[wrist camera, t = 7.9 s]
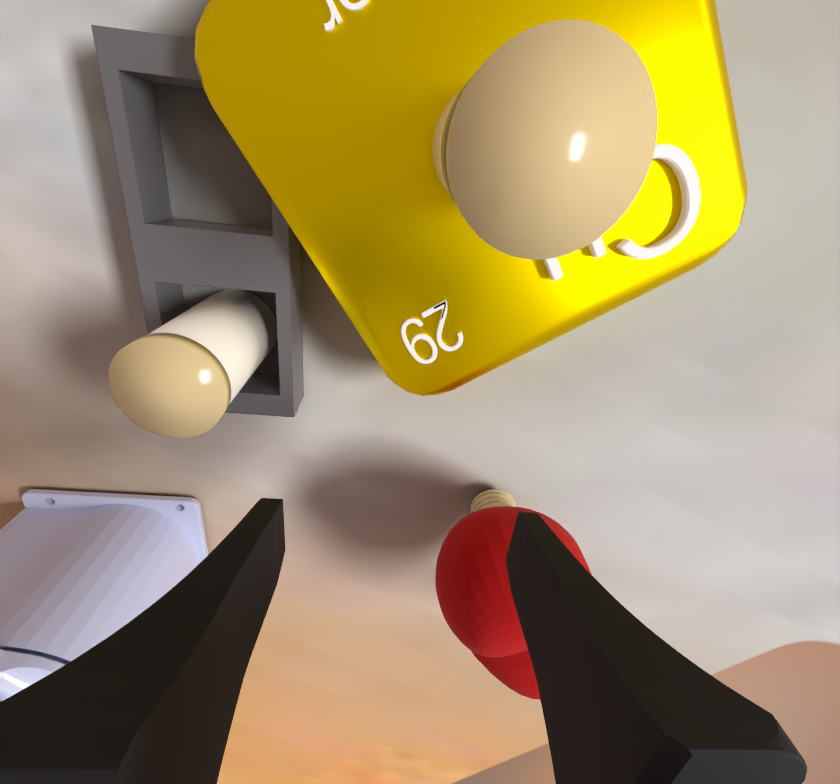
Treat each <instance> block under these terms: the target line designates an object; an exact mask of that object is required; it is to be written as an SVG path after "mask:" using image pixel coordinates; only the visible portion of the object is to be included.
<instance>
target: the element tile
mask: <svg viewBox="0 0 840 784" xmlns="http://www.w3.org/2000/svg"><path fill="white" fill-rule="evenodd" d="M573 19H575V20H582V21H589V22H592V23H595V24H598V25H601V26H604V27H606V28H607V29H609V30H611V31H613V32H615V33H616V34H618V35H619V36H620V37H621V38H623V39H624V40H625V41H626V42H627V43H628V44H629V45H630V46H631V47H632V48H633V49H634V50H635V52H636V53H637V54H638V55H639V57H640V59H641V60H642V62H643V64H644V65H645V67H646V69H647V71H648V74H649V76H650V79H651V81H652V85H653V88H654V92H655V96H656V103H657V111H658V130H657V139H656V146H655V150H654V155H653V159H652V162H651V165H650V168H649V171H648V174H647V176H646V178H645V181H644V183H643V185H642V187H641V189H640V191H639V193H638V194H637V196H636V198H635V199H634V201H633V203H632V204H631V205H630V207H629V208H628V209H627V211H626V212H625V214H624V215H623V216H622V217H621V218H620V219H619V220H618V221H617V222H616V224H615V225H614V226H612V227H611V228H610V229H609V230H608V231H607V232H606V233H605V234H603V235H602V236H601V237H599V238H598V239H597V240H595V241H594V242H592V243H590V244H589V245H587V246H585V247H583V248H582V249H579V250H577V251H575V252H572V253H570V254H567V255H564V256H560V257H556V258H550V259H538V260H532V259H523V258H518V257H514V256H510V255H508V254H505V253H503V252H500V251H498V250H497V249H495V248H493V247H492V246H490V245H488V244H487V243H486V242H485V241H483V240H482V239H481V238H480V237H479V236H478V235H477V234H476V233H475V232H474V231H473V230H472V229H471V227H470V226H469V224H468V223H467V222H466V220H465V219H464V217H463V216H462V215H461V213H460V211H459V209H458V208H457V206H456V205H455V203H454V202H453V200H452V198H451V196H450V195H449V194H448V192H447V191H446V190H445V188H444V187H443V185H442V184H441V182H440V180H439V178H438V176H437V173H436V170H435V167H434V163H433V155H432V144H433V136H434V131H435V127H436V124H437V121H438V119H439V117H440V115H441V113H442V111H443V109H444V108H445V106H446V105H447V103H448V102H449V101H450V100H451V99H452V97H453V96H455V95H456V94H457V93H458V92H459V91H460V90H461V89H462V87H463V86H464V85H465V84H466V83H467V81H468V80H469V79H470V78H471V77H472V76H473V75H474V74H475V72H476V71H477V70H478V69H479V68H480V66H481V65H482V64H483V63H484V62H485V61H486V60H487V59H488V58H489V57H490V56H491V55H492V54H493V53H494V52H495V51H496V50H497V49H498V48H499V47H500V46H502V45H503V44H504V43H506V42H507V41H508V40H510V39H511V38H513V37H514V36H516V35H518V34H519V33H521V32H523V31H525V30H527V29H529V28H531V27H534V26H537V25H540V24H542V23H546V22H551V21H556V20H573ZM194 57H195V61H196V64H197V68H198V72H199V75H200V79H201V83H202V86H203V88H204V90H205V92H206V95H207V97H208V99H209V101H210V103H211V105H212V107H213V109H214V110H215V112H216V113H217V115H218V116H219V118H220V120H221V121H222V123H223V124H224V126H225V127H226V129H227V130H228V132H229V133H230V135H231V136H232V138H233V140H234V141H235V143H236V144H237V146H238V147H239V149H240V150H241V152H242V153H243V155H244V156H245V158H246V160H247V161H248V163H249V164H250V166H251V167H252V169H253V170H254V172H255V173H256V175H257V177H258V178H259V180H260V181H261V183H262V184H263V186H264V187H265V189H266V190H267V192H268V193H269V195H270V197H271V198H272V200H273V201H274V203H275V204H276V206H277V207H278V209H279V210H280V212H281V213H282V215H283V217H284V218H285V220H286V221H287V223H288V224H289V226H290V227H291V229H292V230H293V232H294V234H295V235H296V237H297V238H298V240H299V241H300V243H301V244H302V246H303V247H304V249H305V250H306V252H307V254H308V255H309V257H310V258H311V260H312V261H313V263H314V264H315V266H316V267H317V269H318V270H319V272H320V274H321V275H322V277H323V278H324V280H325V281H326V283H327V284H328V286H329V287H330V289H331V291H332V292H333V294H334V295H335V297H336V298H337V300H338V301H339V303H340V304H341V306H342V307H343V309H344V311H345V312H346V314H347V315H348V317H349V318H350V320H351V321H352V323H353V324H354V326H355V327H356V329H357V331H358V332H359V334H360V335H361V337H362V338H363V340H364V341H365V343H366V344H367V346H368V348H369V349H370V351H371V352H372V354H373V355H374V357H375V358H376V360H377V361H378V363H379V364H380V366H381V368H382V369H383V371H384V372H385V374H386V375H387V376H388V377H389V378H390V379H391V380H392V381H393V382H394V383H395V384H397V385H398V386H400V387H401V388H403V389H404V390H405V391H407V392H409V393H413V394H418V395H422V396H426V395H436V394H442V393H445V392H448V391H451V390H454V389H456V388H458V387H460V386H462V385H464V384H466V383H468V382H470V381H471V380H473V379H475V378H477V377H479V376H481V375H483V374H485V373H487V372H489V371H491V370H493V369H495V368H497V367H499V366H501V365H503V364H505V363H507V362H509V361H511V360H513V359H515V358H517V357H519V356H521V355H523V354H525V353H527V352H529V351H531V350H533V349H535V348H537V347H539V346H541V345H543V344H545V343H547V342H549V341H551V340H553V339H555V338H557V337H559V336H561V335H563V334H565V333H567V332H569V331H571V330H573V329H575V328H577V327H579V326H581V325H583V324H585V323H587V322H589V321H591V320H593V319H595V318H597V317H599V316H601V315H603V314H605V313H607V312H609V311H611V310H613V309H615V308H617V307H619V306H621V305H623V304H625V303H627V302H629V301H631V300H633V299H635V298H637V297H639V296H641V295H643V294H645V293H647V292H649V291H651V290H653V289H654V288H656V287H658V286H660V285H662V284H664V283H666V282H668V281H670V280H672V279H674V278H676V277H678V276H680V275H682V274H684V273H686V272H688V271H690V270H692V269H694V268H696V267H698V266H700V265H701V264H703V263H704V262H706V261H707V260H709V259H710V258H712V257H713V256H715V255H716V254H717V253H718V252H719V251H720V250H721V249H722V248H723V247H724V246H725V245H726V244H727V243H728V242H729V241H730V240H731V238H732V237H733V235H734V233H735V232H736V230H737V228H738V226H739V225H740V223H741V221H742V217H743V212H744V208H745V203H746V198H747V182H746V177H745V171H744V165H743V159H742V154H741V148H740V142H739V137H738V131H737V125H736V119H735V114H734V108H733V102H732V96H731V91H730V85H729V79H728V73H727V68H726V62H725V56H724V51H723V45H722V39H721V33H720V28H719V22H718V16H717V10H716V5H715V0H210V1H209V2H208V3H207V5H206V7H205V9H204V12H203V14H202V16H201V18H200V21H199V23H198V25H197V27H196V34H195V56H194Z"/></svg>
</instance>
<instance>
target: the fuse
mask: <svg viewBox="0 0 840 784" xmlns="http://www.w3.org/2000/svg"><path fill="white" fill-rule="evenodd" d="M276 338H277V324H276V320H275V318H274V315H273V314H272V312H271V310H270V309H269V307H268V306H267V305H266V304H265V303H264V302H263V301H262V300H261V299H259V298H258V297H256V296H255V295H253V294H251V293H249V292H246V291H243V290H237V289H227V290H222V291H219V292H216V293H215V294H213V295H211V296H210V297H208V298H206V299H205V300H203V301H202V302H200V303H198V304H197V305H195V306H193V307H192V308H190V309H188V310H187V311H185V312H184V313H182V314H180V315H179V316H177V317H175V318H174V319H172V320H170V321H169V322H167V323H166V324H164V325H162V326H161V327H159V328H157V329H156V330H154V331H152V332H151V333H149V334H148V335H145V336H142V337H140V338H138V339H136V340H135V341H133V342H131V343H130V344H128V345H126V346H125V347H123V348H122V349H121V350H120V351H118V352H117V354H116V355H115V356H114V358H113V359H112V361H111V364H110V367H109V371H108V383H109V388H110V391H111V394H112V396H113V398H114V400H115V402H116V404H117V405H118V407H119V408H120V409H121V410H122V412H123V413H124V414H125V415H126V416H127V417H128V418H129V419H130V420H132V421H133V422H134V423H136V424H137V425H139V426H140V427H142V428H144V429H145V430H147V431H150V432H152V433H154V434H157V435H160V436H165V437H170V438H190V437H195V436H198V435H201V434H203V433H205V432H207V431H208V430H210V429H211V428H213V427H214V426H215V425H216V424H217V422H218V421H219V420H220V418H221V417H222V416H223V414H224V413H225V412H226V410H227V408H228V406H229V404H230V403H231V401H232V400H233V399H234V398H235V396H236V395H237V394H238V392H239V391H240V390H241V388H242V387H243V386H244V384H245V383H246V382H247V381H248V379H249V378H250V377H251V375H252V374H253V373H254V371H255V370H256V369H257V367H258V366H259V365H260V364H261V362H262V361H263V360H264V358H265V357H266V356H267V354H268V353H269V352H270V350H271V349H272V348H273V346H274V344H275V342H276Z"/></svg>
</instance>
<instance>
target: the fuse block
mask: <svg viewBox="0 0 840 784" xmlns="http://www.w3.org/2000/svg"><path fill="white" fill-rule="evenodd" d="M91 27H92V32H93V37H94V43H95V48H96V54H97V59H98V64H99V70H100V75H101V80H102V86H103V91H104V96H105V102H106V107H107V113H108V118H109V123H110V129H111V134H112V139H113V145H114V150H115V155H116V161H117V166H118V172H119V177H120V182H121V188H122V193H123V198H124V204H125V209H126V214H127V220H128V225H129V231H130V236H131V241H132V247H133V252H134V257H135V263H136V268H137V273H138V279H139V284H140V290H141V295H142V300H143V306H144V311H145V316H146V322H147V327H148V332H149V333H151V332H152V331H154V330H156V329H157V328H159V327H161V326H162V325H164V324H166V323H167V322H169V321H170V320H172V319H174V318H175V317H177V316H179V315H180V314H182V313H184V312H185V306H184V299H183V292H182V285H181V284H186V285H197V286H208V287H219V288H230V289H241V290H252V291H262V292H273V293H276V315H277V336H278V358H279V375H270V374H257V373H253V374H252V375H251V377H250V378H249V379H248V381H247V382H246V383H245V384H244V386H243V387H242V388H241V390H240V391H239V392H238V394H237V395H236V396H235V398H234V399H233V400H232V401H231V403H230V404H229V406H228V408H227V410H226V413H241V414H255V415H270V416H284V417H294V416H295V414H296V412H297V410H298V407H299V405H300V403H301V401H302V399H303V396H304V392H303V341H302V289H301V243H300V241H299V240H298V238H297V237H296V235H295V234H294V232H293V230H292V229H291V227H290V226H289V224H288V223H287V221H286V220H285V218H284V217H283V215H282V213H281V212H280V210H279V209H278V207H277V206H276V204H275V203H274V201H273V200H272V198H271V207H272V229H266V228H256V227H246V226H237V225H227V224H217V223H208V222H198V221H189V220H179V219H172V215H171V208H170V201H169V194H168V187H167V180H166V173H165V166H164V159H163V152H162V145H161V138H160V131H159V124H158V117H157V110H156V103H155V96H154V89H153V83H157V84H165V85H173V86H181V87H188V88H196V89H204V88H203V86H202V83H201V79H200V75H199V72H198V68H197V64H196V61H195V57H194V56H195V39H191V38H184V37H176V36H169V35H162V34H154V33H147V32H140V31H132V30H125V29H118V28H111V27H103V26H96V25H91Z"/></svg>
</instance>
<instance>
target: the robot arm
mask: <svg viewBox="0 0 840 784" xmlns="http://www.w3.org/2000/svg"><path fill="white" fill-rule="evenodd" d="M22 501H23V503H24V506H25V508H24V509H23V510H22V511H21V512H20V513H19V514H18V515H16V516H15V517H14V518H13V519H12V520H11V521H10V522H8V523H7V524H6V525H5V526H4V527H3V528H2V529H0V784H217V780H218V775H219V771H220V767H221V763H222V759H223V755H224V751H225V747H226V743H227V739H228V735H229V731H230V727H231V723H232V720H233V716H234V712H235V708H236V704H237V701H238V697H239V693H240V689H241V686H242V682H243V678H244V675H245V672H246V669H247V666H248V663H249V659H250V657H251V654H252V651H253V649H254V646H255V643H256V640H257V638H258V635H259V632H260V629H261V627H262V624H263V621H264V618H265V616H266V613H267V610H268V607H269V605H270V602H271V599H272V596H273V593H274V591H275V588H276V585H277V582H278V578H279V574H280V570H281V566H282V561H283V557H284V553H285V535H284V515H283V499H268V498H261V499H260V500H259V501H258V502H257V503H256V504H255V505H254V507H253V508H252V509H251V510H250V511H249V512H248V513H247V515H246V516H245V517H244V518H243V519H242V520H241V521H240V522H239V524H238V525H237V526H236V527H235V528H234V529H233V530H232V531H231V532H230V533H229V534H228V535H227V536H226V537H225V539H224V540H223V541H222V542H221V543H220V544H219V545H218V546H217V547H216V548H215V549H214V550H213V551H212V552H211V553H210V554H209V555H208V549H207V543H206V537H205V531H204V524H203V518H202V512H201V506H200V503H199V501H198V500H197V499H195V498H191V497H173V496H154V495H135V494H116V493H97V492H78V491H59V490H40V489H29V490H28V491H26V492H25V493H24V494H23V495H22ZM179 504H180V505H183V506H184V507H183V506H180V505H179ZM506 565H507V571H508V578H509V583H510V589H511V593H512V597H513V600H514V604H515V607H516V611H517V614H518V618H519V621H520V624H521V628H522V631H523V634H524V638H525V641H526V644H527V648H528V651H529V654H530V658H531V661H532V665H533V668H534V672H535V676H536V680H537V684H538V689H539V694H540V699H541V704H542V709H543V714H544V719H545V724H546V730H547V735H548V740H549V746H550V751H551V757H552V762H553V769H554V775H555V781H556V784H802V783H803V781H804V780H805V776H806V772H807V766H806V763H805V761H804V759H803V758H802V756H801V755H800V753H799V752H798V750H797V749H796V748H795V746H794V745H793V743H792V742H791V740H790V739H789V738H788V736H787V735H786V733H785V732H784V730H783V729H782V727H781V726H780V725H779V723H778V722H777V720H776V719H775V718H774V716H773V715H772V714H771V713H769V712H767V711H766V710H764V709H762V708H761V707H759V706H758V705H756V704H755V703H753V702H751V701H750V700H748V699H746V698H745V697H743V696H742V695H740V694H738V693H737V692H735V691H734V690H732V689H730V688H729V687H727V686H726V685H724V684H723V683H721V682H720V681H718V680H717V679H715V678H714V677H712V676H711V675H710V674H708V673H707V672H705V671H704V670H702V669H701V668H699V667H698V666H697V665H695V664H694V663H692V662H691V661H690V660H688V659H687V658H686V657H684V656H683V655H682V654H680V653H679V652H677V651H676V650H675V649H674V648H672V647H671V646H670V645H669V644H667V643H666V642H665V641H663V640H662V639H661V638H660V637H658V636H657V635H656V634H655V633H653V632H652V631H651V630H650V629H648V628H647V627H646V626H645V625H644V624H643V623H641V622H640V621H639V620H638V619H637V618H636V617H635V616H633V615H632V614H631V613H630V612H629V611H628V610H627V609H626V608H624V607H623V606H622V605H621V604H620V603H619V602H618V601H617V600H616V599H615V598H614V597H613V596H612V595H611V594H610V593H609V592H608V591H607V590H606V589H605V588H604V587H603V586H602V585H601V584H600V583H599V582H598V581H597V580H596V579H595V578H594V577H593V576H592V575H591V574H590V573H589V572H588V571H587V570H586V569H585V568H584V566H583V565H582V564H581V563H580V562H579V561H578V560H577V559H576V558H575V557H574V555H573V554H572V553H571V552H570V551H569V550H568V549H567V547H566V546H565V545H564V544H563V543H562V542H561V540H560V539H559V538H558V537H557V536H556V534H555V533H554V532H553V531H552V530H551V528H550V527H549V526H548V525H547V524H546V522H545V521H544V520H543V519H542V518H541V517H540V515H539V514H538V513H530V512H518V515H517V518H516V522H515V526H514V530H513V533H512V537H511V541H510V545H509V548H508V552H507V556H506Z"/></svg>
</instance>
